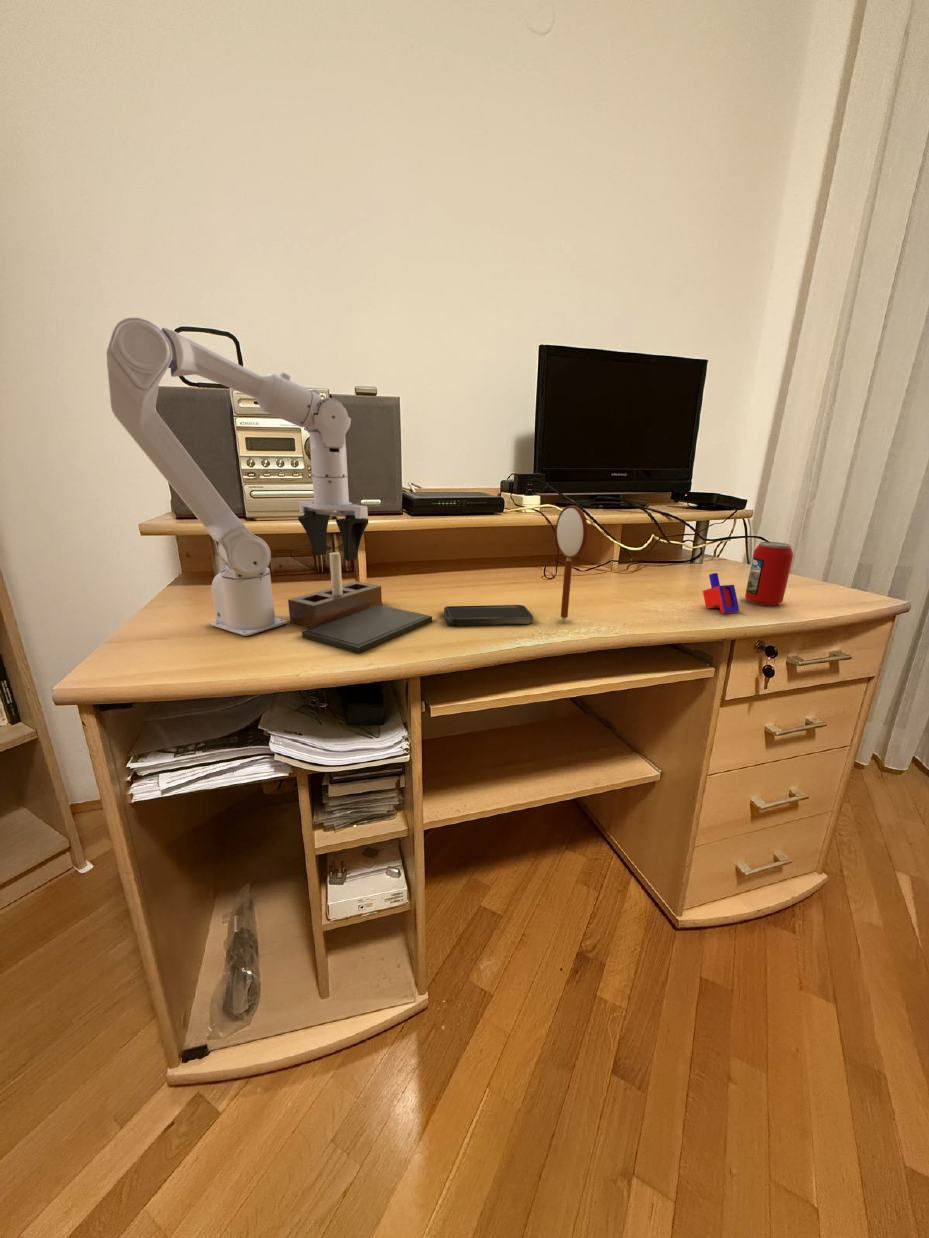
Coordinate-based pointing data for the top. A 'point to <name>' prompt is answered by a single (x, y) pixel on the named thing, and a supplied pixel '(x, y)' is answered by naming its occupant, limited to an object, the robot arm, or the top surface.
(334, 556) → the stylus
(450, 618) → the phone
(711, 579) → the toy building block
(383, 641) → the tablet
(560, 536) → the magnifying glass
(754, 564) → the beverage can
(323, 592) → the pen stand
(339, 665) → the top surface
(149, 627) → the top surface
